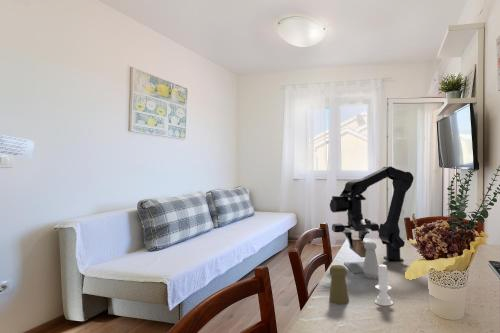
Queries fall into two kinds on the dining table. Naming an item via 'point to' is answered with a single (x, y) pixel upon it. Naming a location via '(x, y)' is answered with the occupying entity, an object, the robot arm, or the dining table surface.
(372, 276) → the salt shaker
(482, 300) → the dining table surface
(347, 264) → the rest mat
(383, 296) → the candle
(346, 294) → the pepper shaker
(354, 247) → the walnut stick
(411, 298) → the dining table surface
